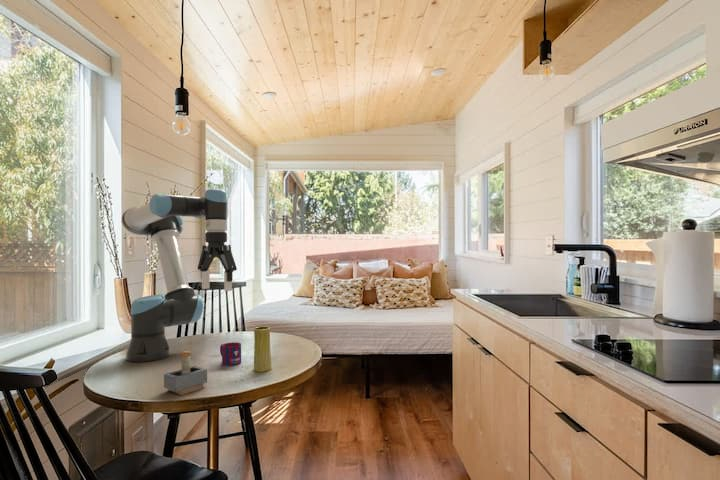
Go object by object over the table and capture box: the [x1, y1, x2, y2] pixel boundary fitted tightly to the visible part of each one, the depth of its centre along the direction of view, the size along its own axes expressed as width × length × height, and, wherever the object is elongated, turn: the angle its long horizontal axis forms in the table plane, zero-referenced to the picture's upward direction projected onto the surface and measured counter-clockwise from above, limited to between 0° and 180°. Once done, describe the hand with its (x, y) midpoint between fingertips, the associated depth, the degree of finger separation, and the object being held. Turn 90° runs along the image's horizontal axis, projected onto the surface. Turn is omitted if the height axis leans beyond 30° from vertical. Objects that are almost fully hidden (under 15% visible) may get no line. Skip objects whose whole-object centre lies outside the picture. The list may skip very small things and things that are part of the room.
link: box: [163, 365, 208, 393], centre depth 124 cm, size 6×10×4 cm, turn 144°
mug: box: [219, 341, 242, 367], centre depth 152 cm, size 7×10×7 cm
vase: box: [253, 326, 272, 373], centre depth 142 cm, size 6×6×14 cm
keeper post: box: [168, 350, 204, 396], centre depth 124 cm, size 7×7×11 cm
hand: (216, 289), depth 151 cm, fingers open, 13 cm apart
